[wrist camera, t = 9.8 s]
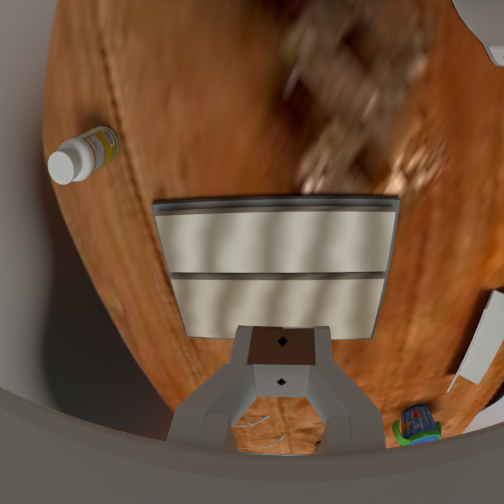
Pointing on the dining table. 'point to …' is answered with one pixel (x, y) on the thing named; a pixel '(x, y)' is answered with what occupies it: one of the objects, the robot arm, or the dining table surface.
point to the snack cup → (417, 427)
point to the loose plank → (278, 302)
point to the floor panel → (278, 235)
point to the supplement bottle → (83, 155)
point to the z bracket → (484, 340)
